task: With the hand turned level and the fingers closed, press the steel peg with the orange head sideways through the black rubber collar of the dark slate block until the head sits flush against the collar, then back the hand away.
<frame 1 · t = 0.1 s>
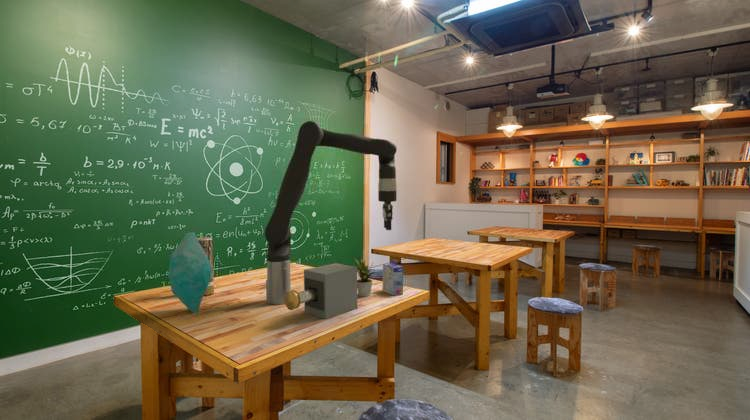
hand: (387, 229, 153), 29 cm above the table, tool pointing down, fingers open, 8 cm apart
collar: (313, 294, 134), point 8 cm above the table
ink cartridge box: (392, 293, 164), on the table
house plant: (361, 295, 161), on the table
crystal: (192, 312, 140), on the table
peg: (307, 295, 131), point 8 cm above the table, slide at 0.0 cm
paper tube: (205, 294, 164), on the table
housing: (331, 310, 140), on the table
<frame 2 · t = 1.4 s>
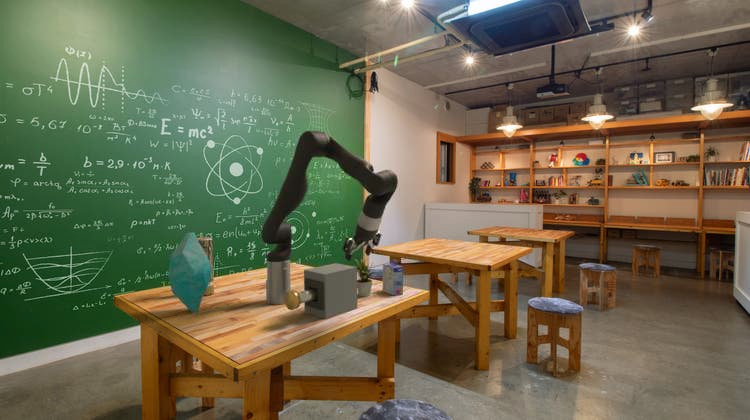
hand: (357, 256, 134), 21 cm above the table, tool tilted 35°, fingers open, 8 cm apart
nothing on the table moved.
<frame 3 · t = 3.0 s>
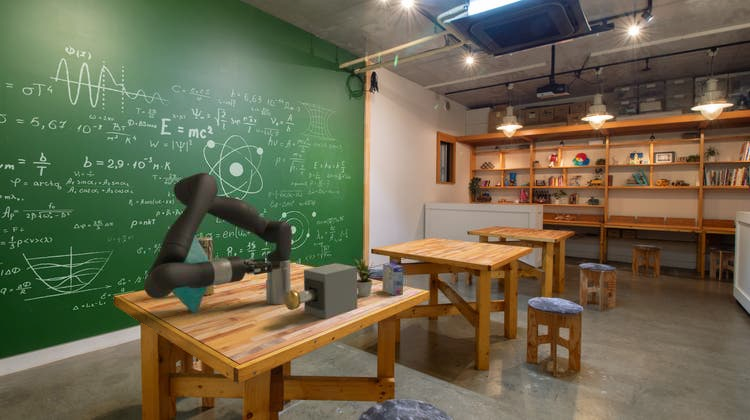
hand: (272, 262, 120), 22 cm above the table, tool horizontal, fingers open, 8 cm apart
nothing on the table moved.
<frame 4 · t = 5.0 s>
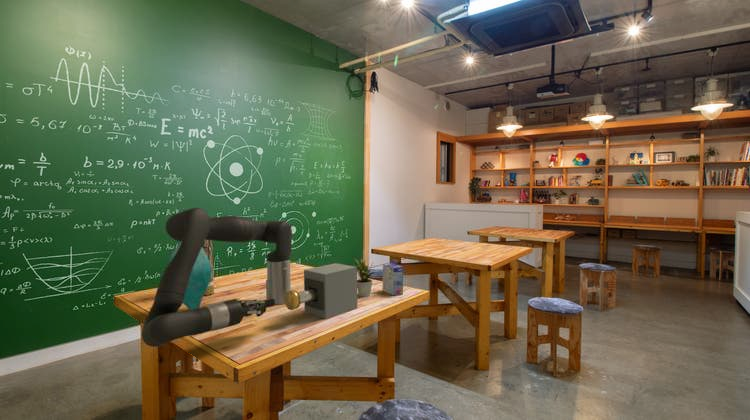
hand: (273, 302, 121), 9 cm above the table, tool horizontal, fingers closed
nothing on the table moved.
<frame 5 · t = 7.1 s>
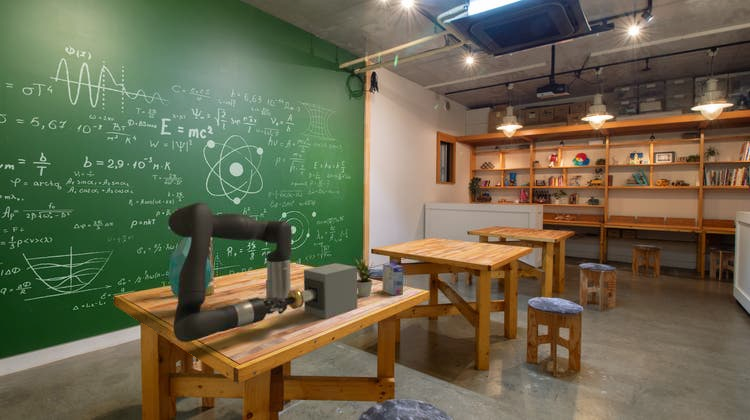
hand: (292, 299, 127), 8 cm above the table, tool horizontal, fingers closed
peg: (310, 295, 132), point 8 cm above the table, slide at 1.3 cm, touching gripper
everything else where it was.
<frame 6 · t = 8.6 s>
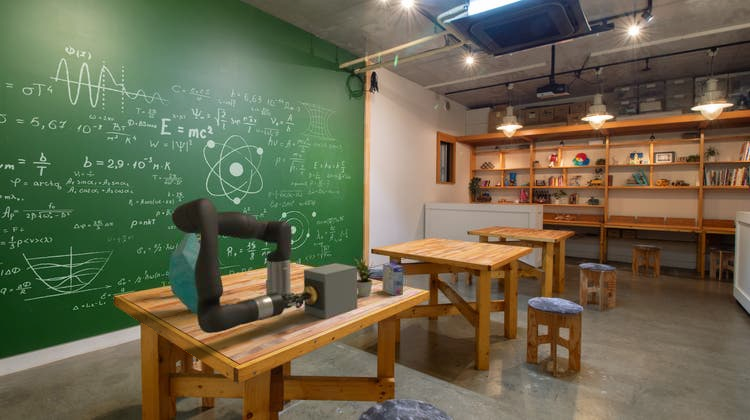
hand: (308, 295, 132), 8 cm above the table, tool horizontal, fingers closed
peg: (324, 291, 137), point 8 cm above the table, slide at 8.1 cm, touching collar, gripper
everything else where it was.
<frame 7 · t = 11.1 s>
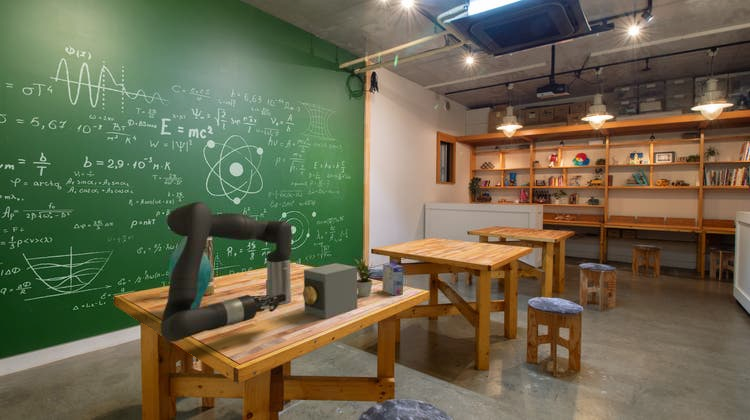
hand: (284, 297, 124), 10 cm above the table, tool horizontal, fingers closed
peg: (324, 291, 137), point 8 cm above the table, slide at 8.1 cm
everything else where it was.
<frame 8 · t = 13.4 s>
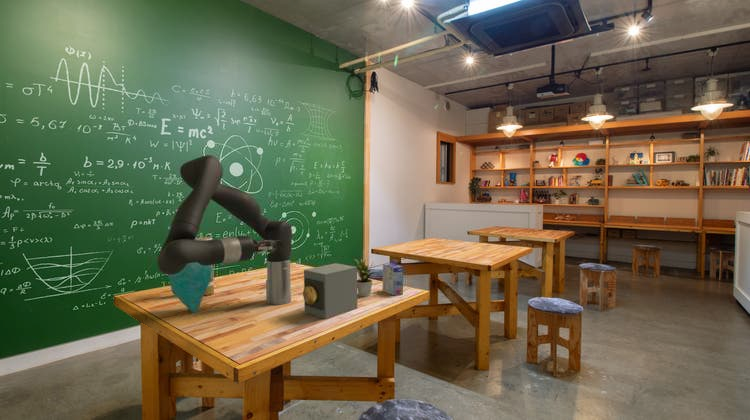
hand: (282, 243, 123), 28 cm above the table, tool horizontal, fingers closed
nothing on the table moved.
at the end: peg slide at 8.1 cm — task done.
